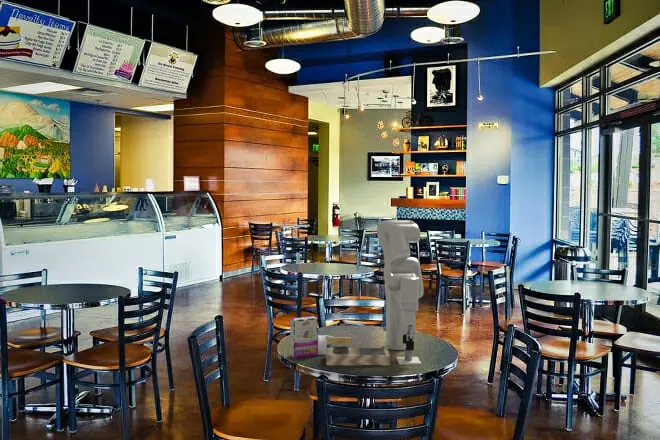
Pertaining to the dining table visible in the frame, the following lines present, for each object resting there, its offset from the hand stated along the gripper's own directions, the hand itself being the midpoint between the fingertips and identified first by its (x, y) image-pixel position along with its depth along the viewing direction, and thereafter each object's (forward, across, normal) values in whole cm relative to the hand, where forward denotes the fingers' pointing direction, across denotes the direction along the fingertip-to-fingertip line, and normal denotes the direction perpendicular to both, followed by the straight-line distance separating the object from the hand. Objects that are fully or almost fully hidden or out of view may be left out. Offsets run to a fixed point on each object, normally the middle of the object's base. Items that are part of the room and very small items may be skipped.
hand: (408, 346), depth 247 cm
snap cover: (+6, +1, 0) cm, 6 cm away
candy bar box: (+7, -7, -44) cm, 45 cm away
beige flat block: (+6, +1, -21) cm, 22 cm away
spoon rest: (+7, -20, -36) cm, 42 cm away
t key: (+7, -14, -28) cm, 32 cm away
